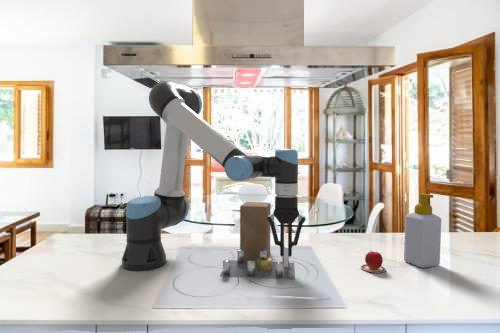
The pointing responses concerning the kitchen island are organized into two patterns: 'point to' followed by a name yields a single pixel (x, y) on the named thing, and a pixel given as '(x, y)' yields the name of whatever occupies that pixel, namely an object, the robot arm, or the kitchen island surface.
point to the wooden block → (254, 229)
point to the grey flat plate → (242, 271)
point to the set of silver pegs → (252, 264)
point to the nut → (264, 264)
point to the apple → (373, 262)
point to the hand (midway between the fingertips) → (285, 265)
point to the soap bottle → (422, 235)
